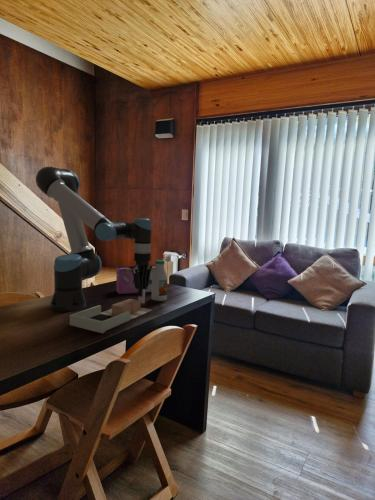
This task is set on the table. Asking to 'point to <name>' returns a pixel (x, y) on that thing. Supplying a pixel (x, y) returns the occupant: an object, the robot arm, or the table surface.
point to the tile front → (121, 308)
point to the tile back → (134, 304)
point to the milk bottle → (159, 282)
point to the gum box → (129, 280)
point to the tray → (85, 321)
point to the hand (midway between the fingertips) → (141, 302)
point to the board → (132, 315)
